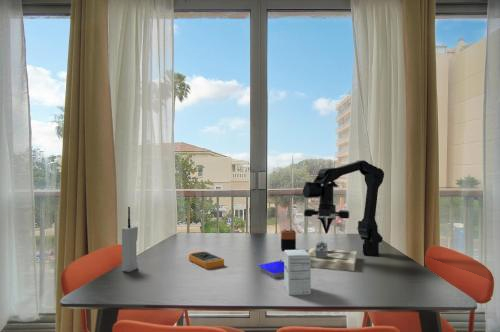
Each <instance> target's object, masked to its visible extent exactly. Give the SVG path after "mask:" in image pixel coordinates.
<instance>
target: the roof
mask: <svg viewBox="0 0 500 332" xmlns="http://www.w3.org/2000/svg"><path fill="white" fill-rule="evenodd" d="M256 266H257V267H258V268H259V269H260V270H259V271H260V272H261V271H262V273H263V274H266V275H267V276H270V277H271V278H273V279H278V278H284V260H283V261H282V259H279V260H277V261H272V262H268V263H263V264H258V265H256Z"/></svg>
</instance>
